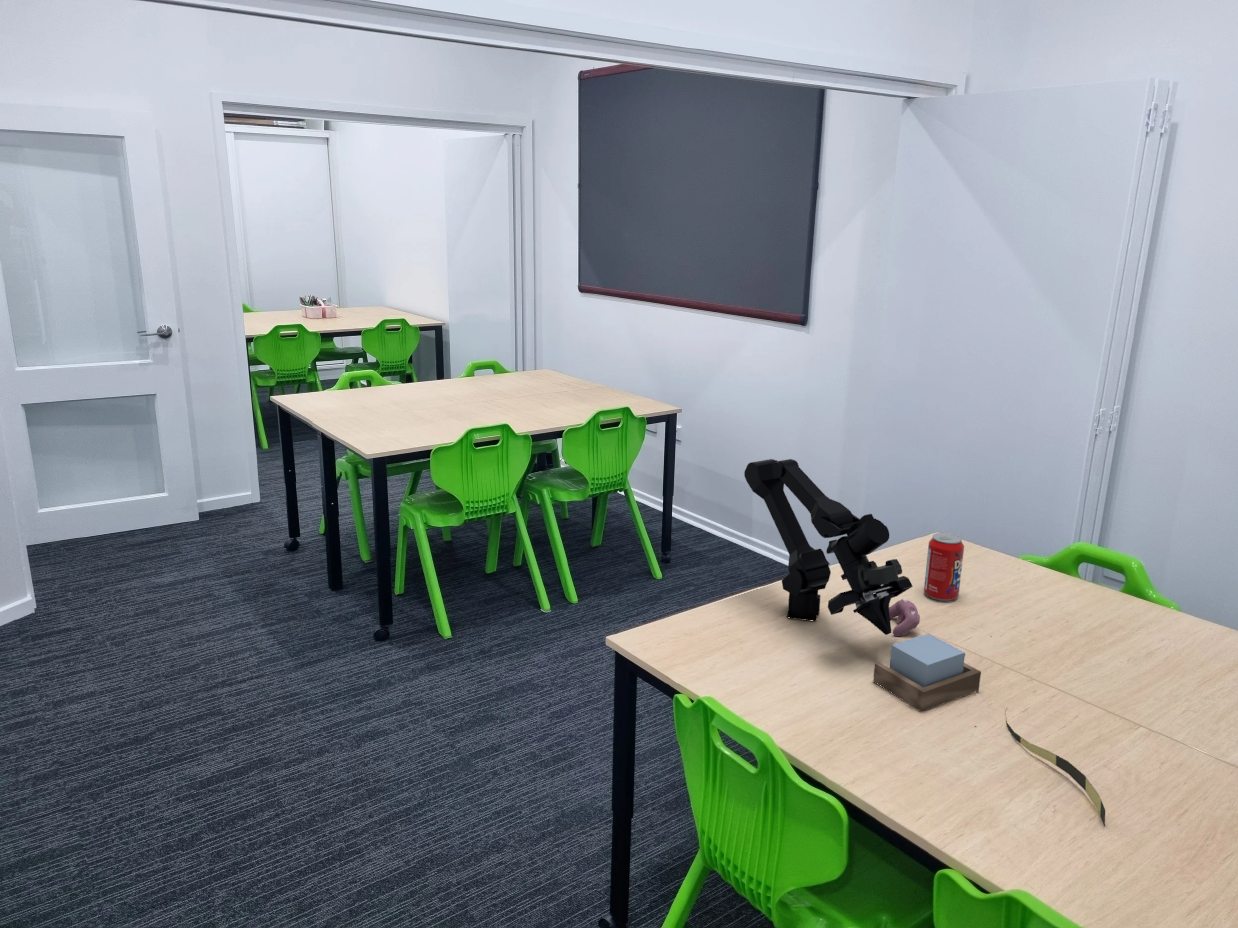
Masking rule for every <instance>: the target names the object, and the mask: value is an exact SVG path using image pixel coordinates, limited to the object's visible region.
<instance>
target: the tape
mask: <svg viewBox="0 0 1238 928" xmlns="http://www.w3.org/2000/svg"><path fill="white" fill-rule="evenodd" d="M1007 710H1008V708H1006V710H1005V714H1007V713H1006V711H1007ZM1005 720H1006V727H1007V729H1008V730H1009V732H1010V733H1012V734H1011V735H1012V738H1013V739H1014V740H1015V741H1017V742H1018V743H1019V744H1020V745H1022V747H1024V748H1026V750H1027V751H1029V752H1031V753H1032V754H1034V755H1036V756H1038V757H1039V758H1042V759H1044V760H1046V761H1048V762H1050V763H1052V765H1054V766H1055V767H1057V768H1058V769H1060V770H1062V771H1064V772H1065V773H1066V774H1068V775H1069V776H1070V777H1071V778H1072V780H1074V781H1075V782H1076V783H1077V784H1078V785H1079V786H1080V787H1081V788H1082V789H1083V790H1084V792H1085V793H1086V795H1087V797H1089V799H1090V801H1091V802H1092V804H1093V805H1094V807H1095V808H1096V809H1097V811H1098V814H1099V817H1100V818H1101V822H1102V823H1103V826H1104V827H1105V826H1106V808H1105V806H1104V803H1103V801H1102V798H1101V796H1100V794H1099V792H1098V791H1097V790H1096V788H1095V787H1094V785H1093V784H1092V783H1091V782H1090V781H1089V779H1088V778H1087V775H1085V774H1084V773H1082V772H1081V771H1080V770H1079V769H1078V768H1077V767H1075V766H1074V765H1073V764H1072V763H1071V762H1070V761H1068V760H1066V759H1064V758H1063V757H1061V756H1059V755H1057V754H1055V753H1053V752H1051V751H1050V750H1048V749H1045V748H1043V747H1041V746H1038V745H1036V744H1034V743H1031V742H1029V741H1028V740H1026V739H1025V738H1023V737H1022V736H1021V735H1019V734H1018V733H1016V732H1015V731H1014V729H1013V728H1012V727H1011V725H1009V723H1008V721H1007V719H1005Z"/></svg>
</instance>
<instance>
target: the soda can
mask: <svg viewBox="0 0 1238 928" xmlns="http://www.w3.org/2000/svg"><path fill="white" fill-rule="evenodd" d="M964 551H965V545H964V543H963V539H962V536H961V537H960V535H958V534H957V535H956V534H953V533H948V532H938V533H937V532H935V533H934V534H933V535H932V537H931V539H930V540H929V541H928V548H927V557H926V564H925V565H926V566H925V576H924V583H923V584H924V585H923V592H924V594H926V596H928V597H929V598H931V599H933V600H935V601H938V602H939V601H940V602H941V601H942V602H949V601H952V600H955V599H957V598H958V597H959V595H960V587H961V586H960V585H961V577H962V570H963V569H962V568H963V562H964V561H963V560H964Z"/></svg>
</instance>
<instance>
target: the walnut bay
mask: <svg viewBox="0 0 1238 928" xmlns="http://www.w3.org/2000/svg"><path fill="white" fill-rule="evenodd" d="M873 670H874V671H873V680H872V681H874V682H876V683H878V684H879V685H881V686H882V687H881V686H880V687H881V688H883V687H884V688H885V689H884V688H883V689H884V690H886V689H887V690H888V691H887V690H886V691H887V692H889V691H890V692H889V693H891V692H892V693H893V695H894V694H895V695H896V697H897V696H898V697H897V698H899V699H900V698H901V700H902V699H903V700H902V701H904V702H905V701H906V702H905V703H907V704H908V705H910V706H912V707H914V709H917V710H918V711H920V712H924V711H927V710H929V709H933V708H935V707H937V706H940V705H943V704H945V703H948V702H951V701H954V700H956V699H959V698H961V697H964V696H967V695H970V694H972V693H975V692H977V691H980V690H979V689H980V683H981V673H982V670H979V669H977V668H975V667H974V666H972V665H969V664H967V663H966V662H964V667H963V674H960V675H957V676H954V677H952V678H949V679H946V680H943V681H940V682H938V683H935V684H932V685H929V686H926V687H924V688H923V687H921V686H920V685H918V684H916V683H915V682H913V681H911V680H909V679H908V678H906V677H904V676H903V675H901V674H899V673H897V672H896V671H894V670H892V669H891V668H889V666H887V665H886V664H884V663H882V662H880V661H877V662H875V663H874V669H873ZM874 682H873V683H874ZM876 683H875V684H876ZM878 684H877V685H878ZM879 685H878V686H879ZM892 693H891V694H892ZM895 695H894V696H895Z"/></svg>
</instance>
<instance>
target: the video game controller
mask: <svg viewBox="0 0 1238 928" xmlns="http://www.w3.org/2000/svg"><path fill="white" fill-rule="evenodd" d="M918 611H919V610H918V607H917V606H916V605H915V604H914V603H913V602H912V601H910V600H909V599H903V598H901V599H899V600H898V601H896V602H895V603H893V604H892V605H891V606H889V616H890V620H891V619H894V618H897V619H896V623H897V625H896V626H895V627H894V628H893V630H892V634H893V636H895V637H902V636H904V635H907V634H908V633H910V632H911V631H913V629H915V628H917V627H918V625H920V620H921V616H920V614H919V612H918Z"/></svg>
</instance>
